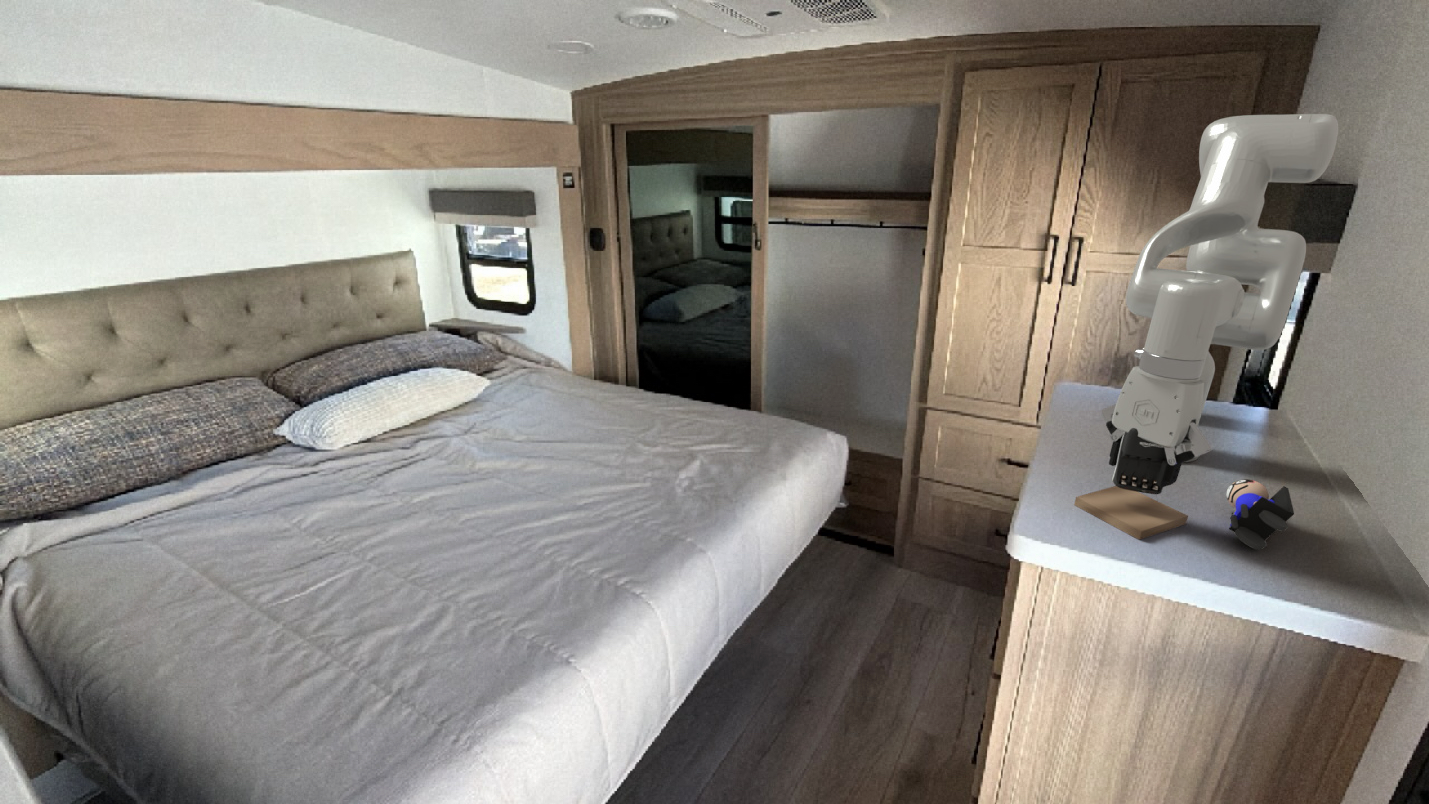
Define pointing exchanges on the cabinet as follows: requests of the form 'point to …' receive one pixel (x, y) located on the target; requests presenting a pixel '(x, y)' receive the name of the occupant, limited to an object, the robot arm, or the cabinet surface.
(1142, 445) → the battery charger
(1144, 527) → the walnut board
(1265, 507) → the character figurine
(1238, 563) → the cabinet surface
